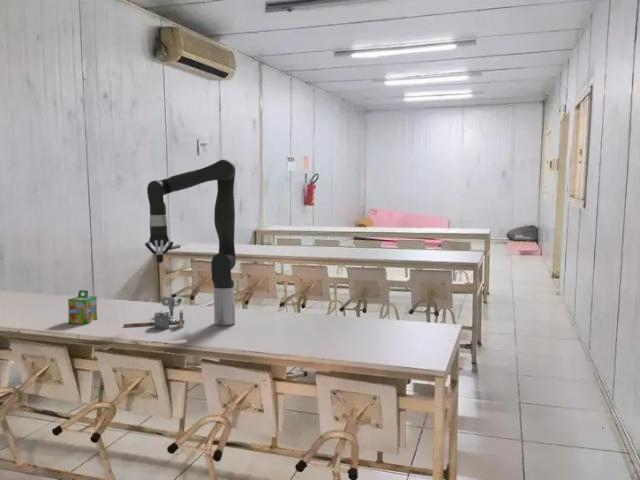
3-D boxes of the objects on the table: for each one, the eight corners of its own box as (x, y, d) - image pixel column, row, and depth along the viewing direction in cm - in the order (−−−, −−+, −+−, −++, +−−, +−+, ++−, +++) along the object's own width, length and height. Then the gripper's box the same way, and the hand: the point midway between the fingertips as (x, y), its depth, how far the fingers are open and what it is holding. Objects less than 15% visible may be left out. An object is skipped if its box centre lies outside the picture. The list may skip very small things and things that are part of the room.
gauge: (176, 324, 238) (175, 309, 237) (176, 329, 229) (175, 313, 229) (155, 325, 235) (155, 310, 235) (154, 331, 227) (153, 315, 226)
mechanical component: (180, 319, 252) (179, 298, 251) (160, 318, 254) (159, 297, 253) (182, 317, 255) (182, 297, 254) (163, 316, 257) (162, 296, 256)
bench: (184, 325, 240) (184, 308, 240) (184, 331, 231) (184, 313, 230) (124, 329, 234) (123, 311, 233) (121, 335, 224) (120, 317, 224)
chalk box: (68, 323, 244) (66, 292, 242) (80, 319, 253) (79, 288, 251) (86, 324, 242) (84, 293, 241) (98, 319, 251) (96, 289, 250)
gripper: (173, 224, 244) (175, 261, 246) (143, 224, 241) (145, 262, 242) (173, 225, 237) (175, 263, 239) (142, 225, 233) (144, 264, 235)
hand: (160, 262), depth 240 cm, fingers closed
